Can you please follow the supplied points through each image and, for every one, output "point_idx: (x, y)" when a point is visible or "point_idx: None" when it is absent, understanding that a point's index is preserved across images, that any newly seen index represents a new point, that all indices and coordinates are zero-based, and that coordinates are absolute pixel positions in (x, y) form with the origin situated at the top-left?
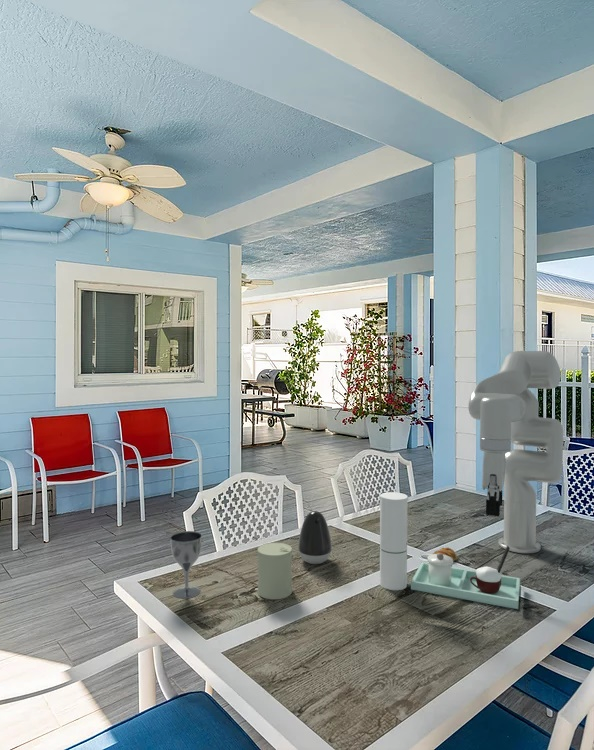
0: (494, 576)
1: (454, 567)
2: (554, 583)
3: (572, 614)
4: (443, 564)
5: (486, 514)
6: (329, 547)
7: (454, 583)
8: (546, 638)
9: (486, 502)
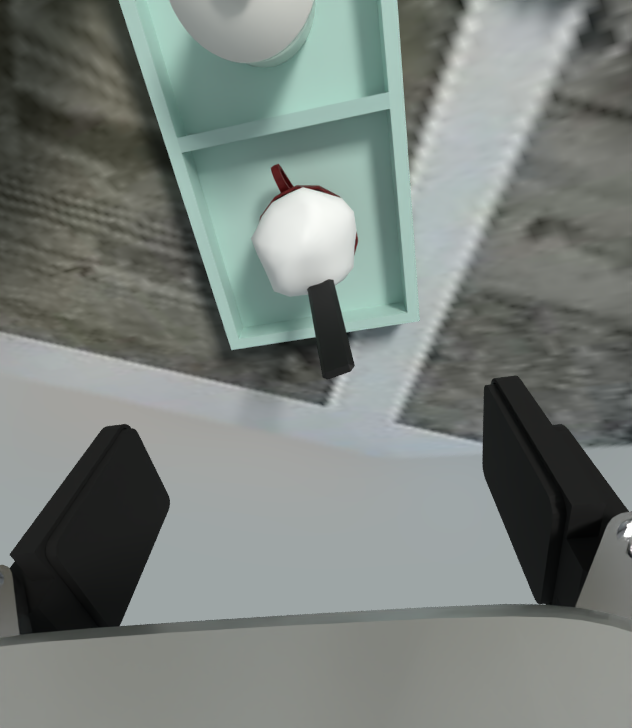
0: (269, 280)
1: (398, 29)
2: None
3: (323, 437)
4: (181, 23)
5: (107, 427)
6: None
7: (295, 75)
8: (157, 407)
9: (39, 521)
